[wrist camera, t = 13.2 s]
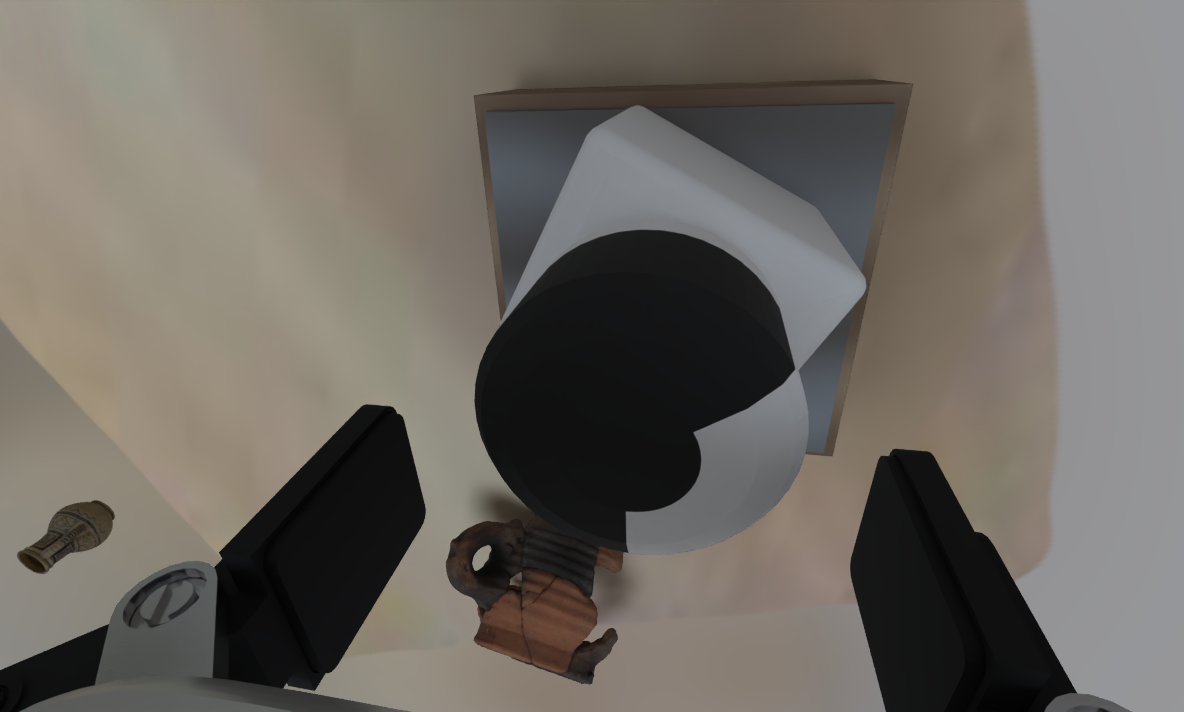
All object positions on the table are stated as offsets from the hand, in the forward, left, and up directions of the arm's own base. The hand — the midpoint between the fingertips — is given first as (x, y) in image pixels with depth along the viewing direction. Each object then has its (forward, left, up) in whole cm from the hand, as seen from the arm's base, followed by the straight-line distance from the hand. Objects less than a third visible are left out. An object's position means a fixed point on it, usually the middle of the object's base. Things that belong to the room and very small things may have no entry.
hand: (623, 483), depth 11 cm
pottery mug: (+18, -7, -17) cm, 26 cm away
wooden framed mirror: (0, 0, -16) cm, 16 cm away
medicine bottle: (-2, 0, -11) cm, 11 cm away
